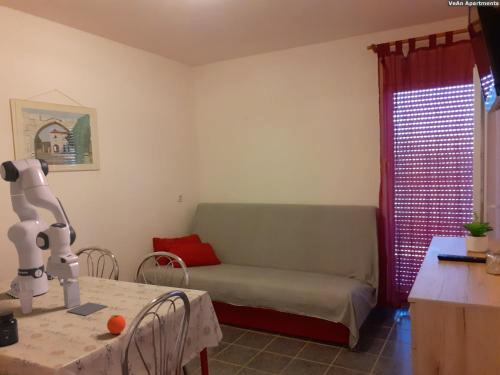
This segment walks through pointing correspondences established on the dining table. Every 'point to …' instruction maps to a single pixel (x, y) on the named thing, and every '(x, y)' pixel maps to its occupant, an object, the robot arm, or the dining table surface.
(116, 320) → the clementine
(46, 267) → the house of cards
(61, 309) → the dining table surface
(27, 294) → the smoothie
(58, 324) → the dining table surface
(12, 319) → the supplement bottle
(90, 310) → the mat
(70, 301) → the skincare box
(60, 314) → the dining table surface
